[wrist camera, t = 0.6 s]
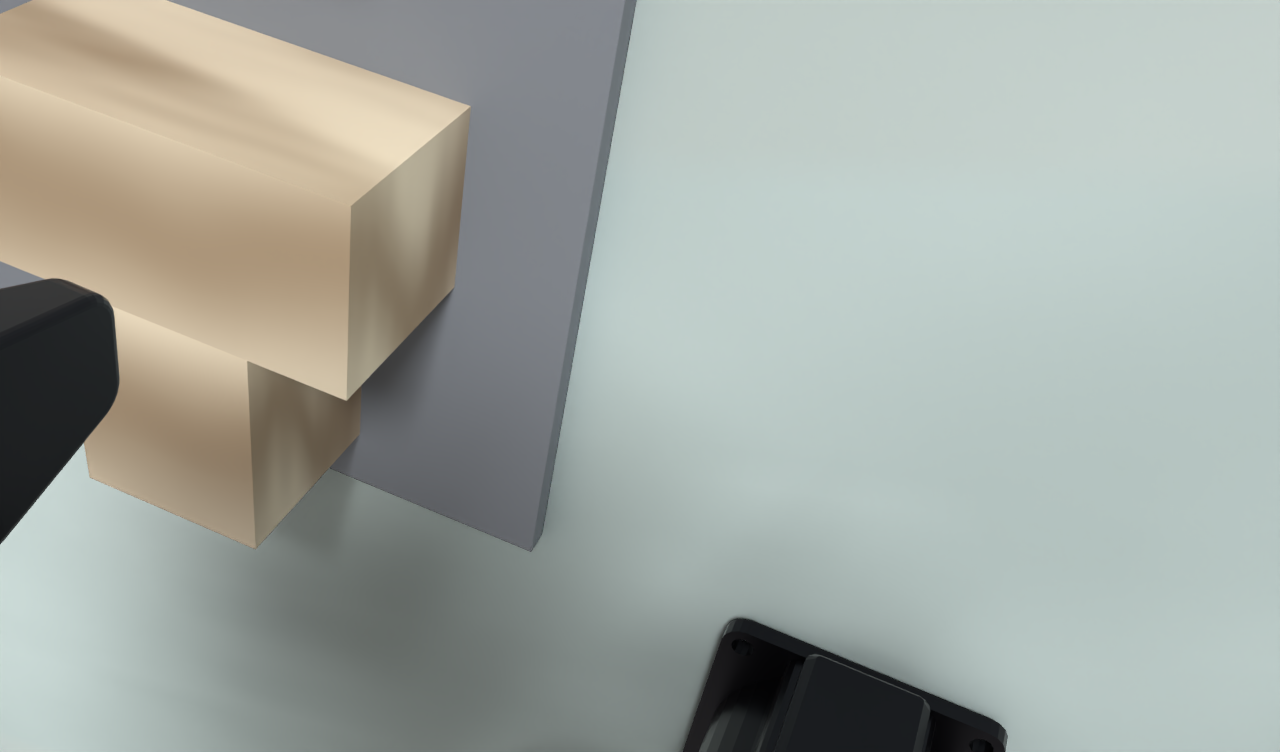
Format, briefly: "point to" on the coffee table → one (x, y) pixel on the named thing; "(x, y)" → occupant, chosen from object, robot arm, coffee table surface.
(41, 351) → the robot arm
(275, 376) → the t block
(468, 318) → the slate mat
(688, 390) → the coffee table surface
